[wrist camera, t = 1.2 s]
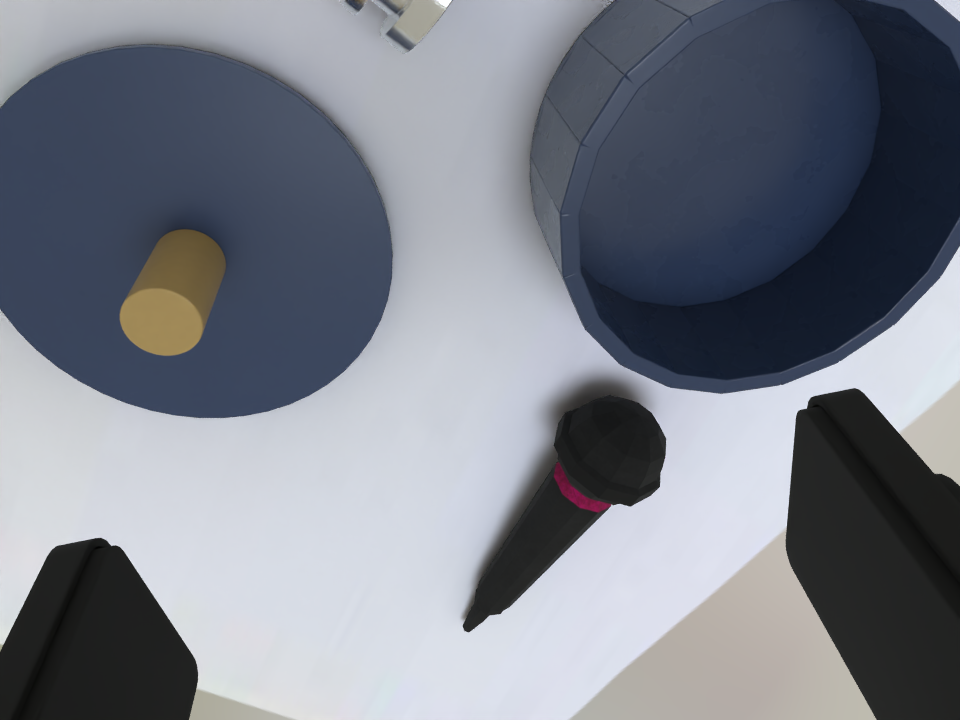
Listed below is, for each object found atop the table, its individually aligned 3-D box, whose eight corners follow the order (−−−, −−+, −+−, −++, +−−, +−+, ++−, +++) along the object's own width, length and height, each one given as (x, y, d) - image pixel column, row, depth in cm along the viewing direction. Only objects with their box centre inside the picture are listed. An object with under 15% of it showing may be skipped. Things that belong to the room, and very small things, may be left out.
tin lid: (77, 427, 36) (28, 520, 31) (-109, 71, 27) (-222, 122, 22) (417, 377, 36) (423, 461, 31) (352, 13, 27) (346, 49, 22)
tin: (539, 333, 36) (568, 417, 30) (517, -24, 27) (551, 7, 22) (852, 288, 36) (933, 363, 31) (928, -76, 28) (1060, -59, 22)
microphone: (488, 582, 50) (652, 374, 39) (520, 665, 46) (711, 462, 35) (415, 590, 47) (568, 367, 36) (443, 679, 44) (624, 463, 32)
